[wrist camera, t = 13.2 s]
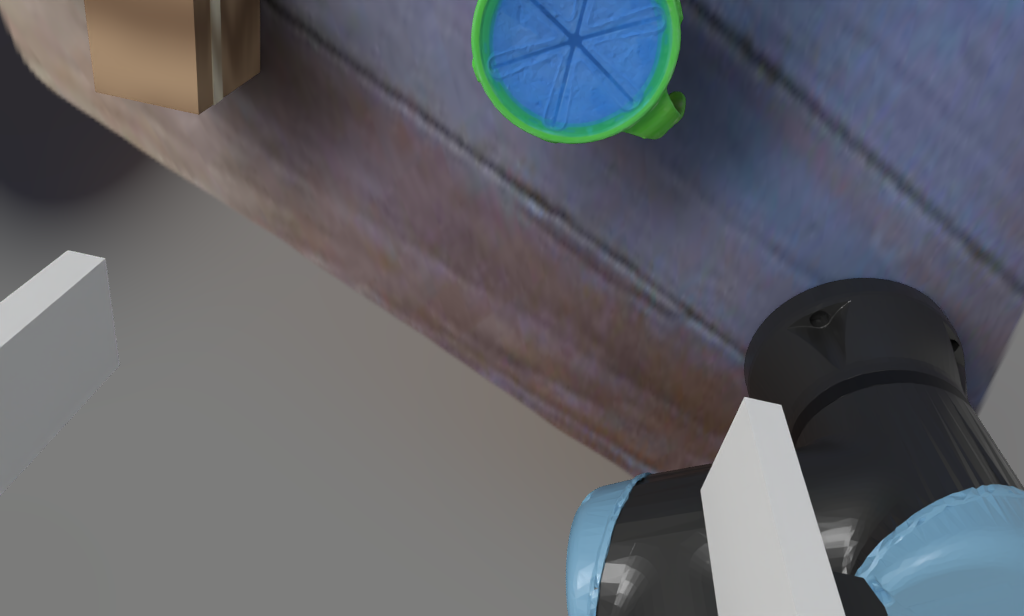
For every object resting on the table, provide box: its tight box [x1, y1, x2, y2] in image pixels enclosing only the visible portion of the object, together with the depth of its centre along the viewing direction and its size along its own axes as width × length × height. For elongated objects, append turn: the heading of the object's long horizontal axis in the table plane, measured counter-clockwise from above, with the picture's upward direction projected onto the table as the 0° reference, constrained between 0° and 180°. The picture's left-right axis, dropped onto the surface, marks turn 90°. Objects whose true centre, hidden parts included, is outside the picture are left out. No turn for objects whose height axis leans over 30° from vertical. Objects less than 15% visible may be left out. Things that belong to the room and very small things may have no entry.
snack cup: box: [471, 0, 686, 144], centre depth 41 cm, size 16×10×10 cm
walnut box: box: [84, 0, 260, 115], centre depth 44 cm, size 9×6×9 cm
